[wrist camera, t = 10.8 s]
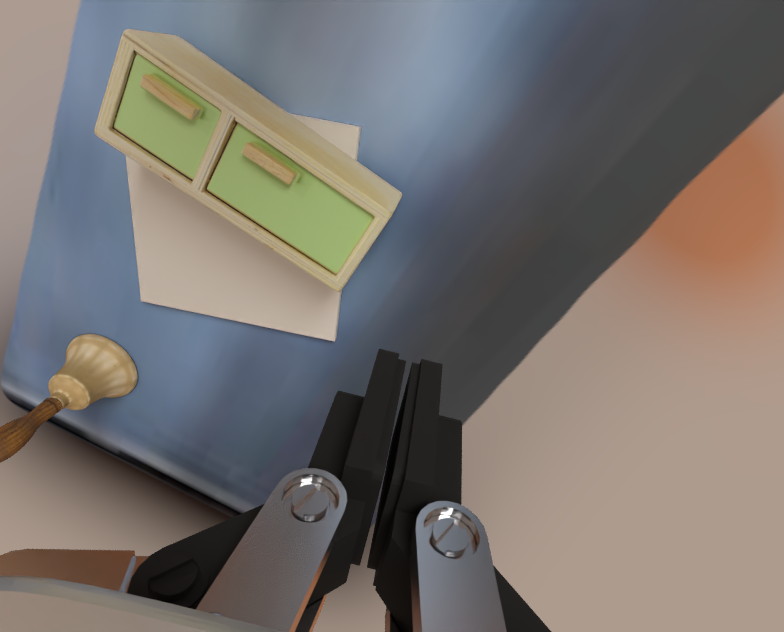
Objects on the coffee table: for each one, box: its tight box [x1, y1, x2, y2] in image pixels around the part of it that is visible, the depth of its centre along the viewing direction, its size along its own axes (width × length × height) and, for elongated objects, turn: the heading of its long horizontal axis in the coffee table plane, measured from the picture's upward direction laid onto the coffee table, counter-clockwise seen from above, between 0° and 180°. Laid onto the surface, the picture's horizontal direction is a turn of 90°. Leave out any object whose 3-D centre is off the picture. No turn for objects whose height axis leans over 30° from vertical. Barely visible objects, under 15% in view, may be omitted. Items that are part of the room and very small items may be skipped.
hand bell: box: [0, 334, 138, 462], centre depth 46 cm, size 8×8×16 cm
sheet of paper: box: [126, 113, 361, 341], centre depth 43 cm, size 20×20×1 cm
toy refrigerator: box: [94, 29, 402, 292], centre depth 36 cm, size 8×7×21 cm
